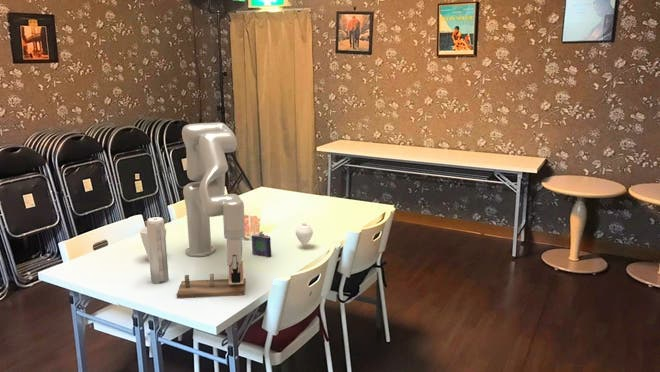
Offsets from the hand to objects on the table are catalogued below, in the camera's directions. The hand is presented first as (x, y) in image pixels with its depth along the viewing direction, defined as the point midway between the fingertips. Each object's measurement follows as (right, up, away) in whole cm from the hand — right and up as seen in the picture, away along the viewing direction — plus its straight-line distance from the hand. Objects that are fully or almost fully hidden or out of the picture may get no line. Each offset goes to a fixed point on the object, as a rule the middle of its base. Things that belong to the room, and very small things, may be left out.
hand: (236, 278), depth 205 cm
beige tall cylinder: (-31, -2, +8) cm, 32 cm away
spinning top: (+23, +6, +43) cm, 50 cm away
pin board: (-9, -4, 0) cm, 10 cm away
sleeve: (0, -1, 0) cm, 1 cm away
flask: (+5, +4, +35) cm, 35 cm away
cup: (-40, +3, +30) cm, 50 cm away
